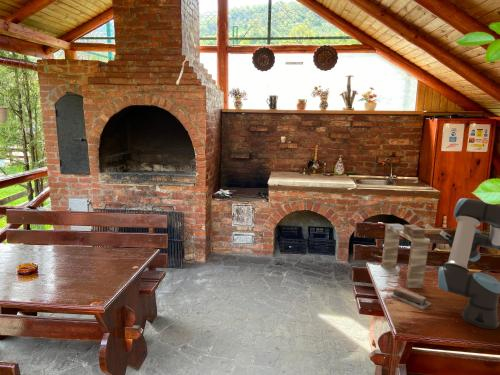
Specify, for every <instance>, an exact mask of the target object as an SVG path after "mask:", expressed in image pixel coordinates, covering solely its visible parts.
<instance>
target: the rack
mask: <svg viewBox="0 0 500 375" xmlns="http://www.w3.org/2000/svg"><path fill="white" fill-rule="evenodd" d="M403 230H404V225H402V224H400V223H385V230H384V238H383V250H382V256H381V264H380V267H381V268H383V269H394V268H397V260H398V253H399V247H400V246H399V245H400V237H403V238H404V239H406V240H408V241H409V242H411V243H410V251H409V259H408V267H407V272H406V273H407V274H406V281H405V286H406V287H407V288H408V289H412V288H413V289H417V288H419V289H421V288H423V287H424V286H423V285H424V280H425V273H426V266H427V260H428V252H429V251H428V250H429V245H430V242H431V239H430V238H428V237H427V236H424V238H412V237H410V236H408V235H407V234H405V233H403Z"/></svg>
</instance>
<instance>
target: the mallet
mask: <svg viewBox="0 0 500 375" xmlns="http://www.w3.org/2000/svg"><path fill="white" fill-rule="evenodd" d="M403 226H404V230H403V233H405V234H407V235H408V236H410V237H412V238H424V237H425V235H436V234H440V233H441V231H442V230H443V228H435V229H427V228H422V227H420V226H419V225H416V224H403Z"/></svg>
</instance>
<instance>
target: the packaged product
mask: <svg viewBox="0 0 500 375" xmlns="http://www.w3.org/2000/svg"><path fill="white" fill-rule="evenodd" d="M391 296H392V298H395V299H396V300H398V299H399V300H398V301H400V300H401V301H400V302H403V303H405V304H407V305H410V306H412V307H414V308H416V309H420V310H422V311H424V310H425V309H427V308H429V306H431V305H432V303H431V302H428V301H427V300H428V298H427V297H425V296H423V295H421V294H418V293H416V292H413V291H411V290H409V289H406V288H404V287H401V286H397V287H396V288H394V289H393V292H392V293H391V295H390V297H391Z"/></svg>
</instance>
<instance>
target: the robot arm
mask: <svg viewBox="0 0 500 375" xmlns="http://www.w3.org/2000/svg"><path fill="white" fill-rule="evenodd" d="M483 201H484V200H479V199H472V198H470V197H468V198H465V197H463V198H459V200H458V201H457V202H456V205H455V207H454V211H453V217H454V218H455V221H456V222H457V227H456V230H455V235H450V234H449V233H447V231H445V230H444V229H442V231H441V233H440V234H435V235H436V236H437V237H440V238H441V239H442V240H443V241H445V242H446V243H447V244H448V246H449V248H451V249H450V254H449V256H448V261H447V262H445V263H444V264H443V266H439V268H438V275H437V276H438V277H437V278H438V279H437V285H438V288H439V289H440V290H443V291H445V292H447V293H451V294H455V295H459V296H461V297H465V298H468V302H467V304H466V305H465V307H464V309H463V310H462V314H461V318H462V319H463V320H464V321H465V322H466V323H468V324H471V326H474V327H476V328H477V327H478V328H480V329H481V328H482V329H484V330H485V329H486V330H496V329H497V328H498V327H499V318H498V313H497V309H498V303H499V297H500V281H499V279H497V278H495V277H494V276H492V275H489V274H487V273H483V272H476V271H475V272H473V274H471V273H470V270H469V268H468V263H469V261H470V262H477V261H479V260H480V258H481V253H480V251H479V250H478V249H479V247H482V248H487V249H492V250H497V251H500V204H499V205H490V204H486V203H484V202H483ZM481 223H486V224H489V235H487V234H482V231H481V230H479V229H477V227H479V226H481ZM424 229H436V228H435V227H433V226H432V225H431V224H430V223H426V225H425V226H424Z"/></svg>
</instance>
